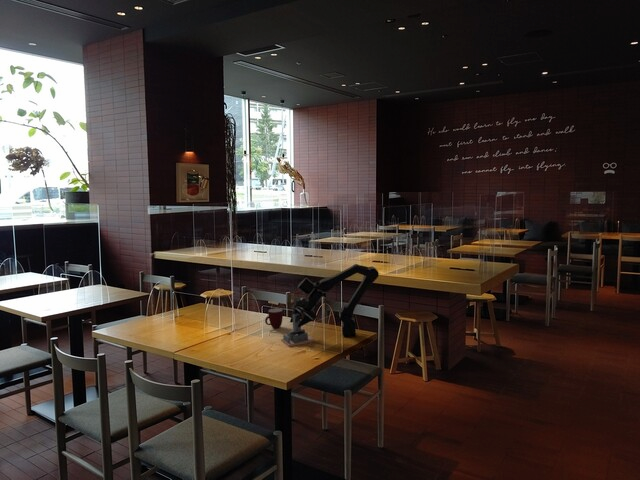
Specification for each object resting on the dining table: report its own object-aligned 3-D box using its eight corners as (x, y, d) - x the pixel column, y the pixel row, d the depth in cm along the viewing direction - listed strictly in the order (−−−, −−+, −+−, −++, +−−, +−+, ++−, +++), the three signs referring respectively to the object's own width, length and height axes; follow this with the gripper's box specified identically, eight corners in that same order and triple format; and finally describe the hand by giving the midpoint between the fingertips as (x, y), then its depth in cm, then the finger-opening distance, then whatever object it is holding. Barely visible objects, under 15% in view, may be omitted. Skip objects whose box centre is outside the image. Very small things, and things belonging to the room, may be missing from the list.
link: (301, 335, 250) (300, 311, 249) (308, 340, 243) (306, 315, 242) (287, 338, 247) (285, 314, 245) (293, 343, 240) (292, 317, 238)
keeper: (305, 335, 253) (305, 328, 252) (314, 341, 244) (314, 333, 243) (281, 341, 247) (280, 333, 246) (289, 346, 238) (288, 339, 237)
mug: (271, 332, 261) (270, 314, 260) (262, 329, 267) (261, 311, 266) (286, 327, 268) (285, 310, 267) (277, 324, 274) (276, 307, 273)
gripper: (294, 287, 252) (276, 311, 248) (310, 294, 235) (290, 320, 232) (308, 299, 256) (291, 323, 253) (325, 307, 240) (306, 332, 236)
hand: (294, 324), depth 243 cm, fingers open, 9 cm apart
